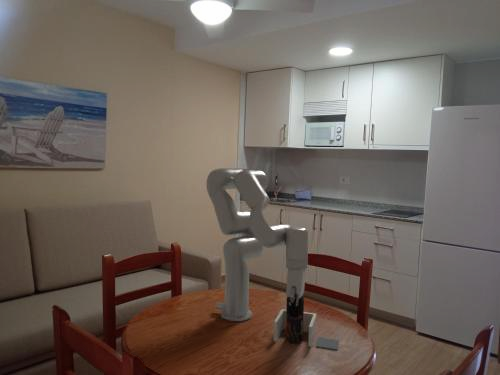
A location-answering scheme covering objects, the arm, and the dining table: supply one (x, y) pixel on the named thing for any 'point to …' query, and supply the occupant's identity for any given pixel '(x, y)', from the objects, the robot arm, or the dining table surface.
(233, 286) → the robot arm
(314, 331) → the u-shaped bracket
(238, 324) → the dining table surface
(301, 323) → the deodorant
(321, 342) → the coaster
